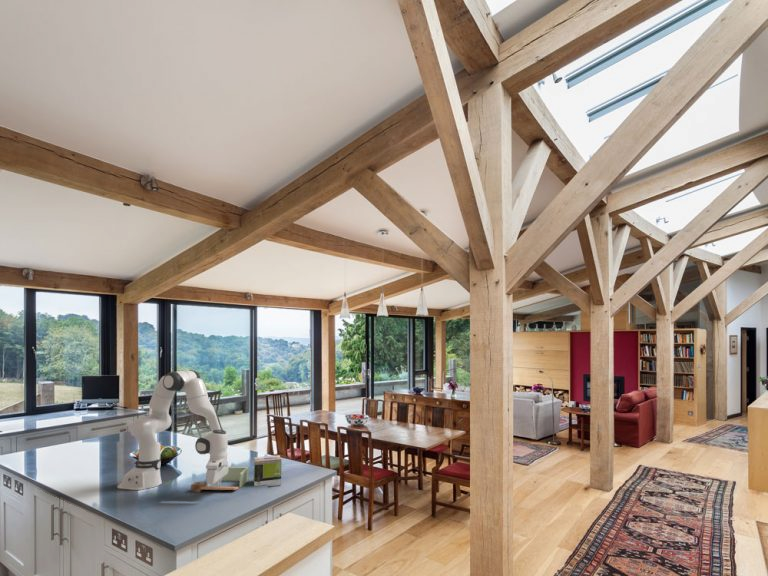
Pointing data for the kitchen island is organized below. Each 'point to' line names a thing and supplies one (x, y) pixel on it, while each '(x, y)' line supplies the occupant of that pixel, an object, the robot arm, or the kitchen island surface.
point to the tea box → (267, 470)
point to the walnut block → (197, 486)
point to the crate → (236, 475)
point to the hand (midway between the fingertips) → (217, 487)
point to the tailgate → (219, 488)
